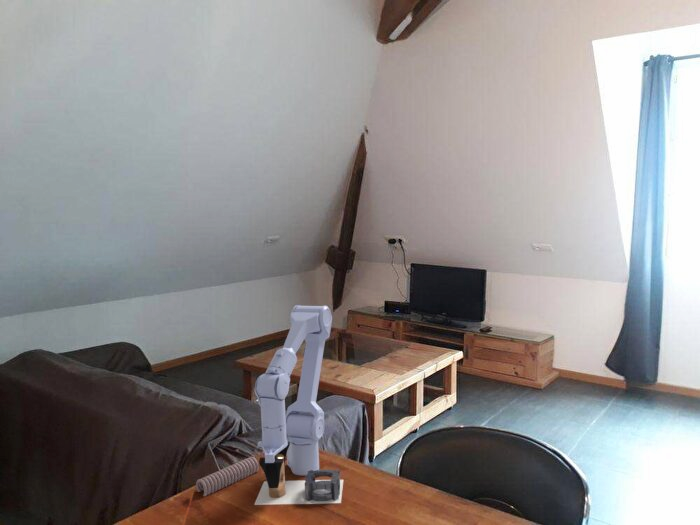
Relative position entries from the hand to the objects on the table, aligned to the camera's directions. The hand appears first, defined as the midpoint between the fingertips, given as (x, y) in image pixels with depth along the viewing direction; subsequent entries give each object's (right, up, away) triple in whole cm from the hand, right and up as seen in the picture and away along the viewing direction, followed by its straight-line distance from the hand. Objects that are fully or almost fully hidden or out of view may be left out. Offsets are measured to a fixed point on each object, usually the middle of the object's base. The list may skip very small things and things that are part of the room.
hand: (276, 480), depth 134 cm
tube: (0, -3, 0) cm, 3 cm away
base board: (+6, -4, +1) cm, 7 cm away
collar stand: (+11, -4, 0) cm, 12 cm away
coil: (-13, -5, +9) cm, 17 cm away
